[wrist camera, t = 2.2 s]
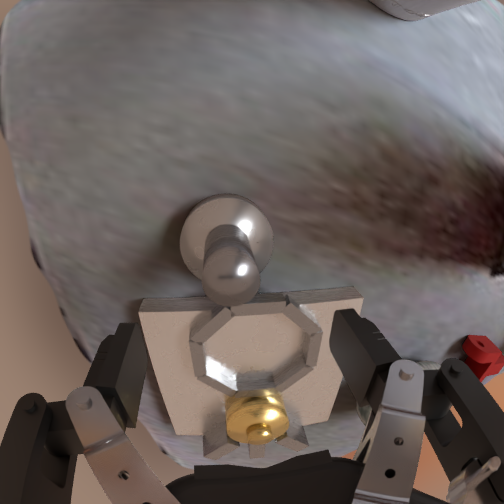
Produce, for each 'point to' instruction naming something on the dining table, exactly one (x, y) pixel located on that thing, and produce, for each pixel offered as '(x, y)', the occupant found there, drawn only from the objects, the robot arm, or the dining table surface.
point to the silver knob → (227, 247)
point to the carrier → (246, 365)
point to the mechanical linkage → (482, 356)
